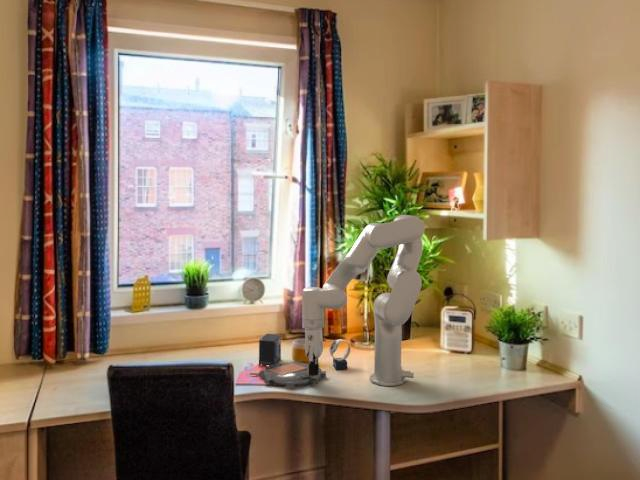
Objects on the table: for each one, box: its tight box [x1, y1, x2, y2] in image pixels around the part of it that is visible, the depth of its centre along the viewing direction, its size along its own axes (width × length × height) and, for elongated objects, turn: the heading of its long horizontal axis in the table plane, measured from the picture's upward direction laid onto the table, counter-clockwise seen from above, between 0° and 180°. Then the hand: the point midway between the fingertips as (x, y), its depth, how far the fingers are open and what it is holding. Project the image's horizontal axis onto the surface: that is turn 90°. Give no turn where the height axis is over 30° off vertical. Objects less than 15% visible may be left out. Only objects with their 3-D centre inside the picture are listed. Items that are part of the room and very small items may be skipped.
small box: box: [258, 333, 282, 366], centre depth 220 cm, size 11×6×10 cm, turn 168°
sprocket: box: [258, 361, 327, 389], centre depth 202 cm, size 24×24×7 cm
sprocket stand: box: [249, 370, 260, 376], centre depth 203 cm, size 21×10×1 cm, turn 79°
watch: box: [328, 338, 351, 371], centre depth 213 cm, size 6×8×11 cm
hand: (313, 374), depth 195 cm, fingers closed
